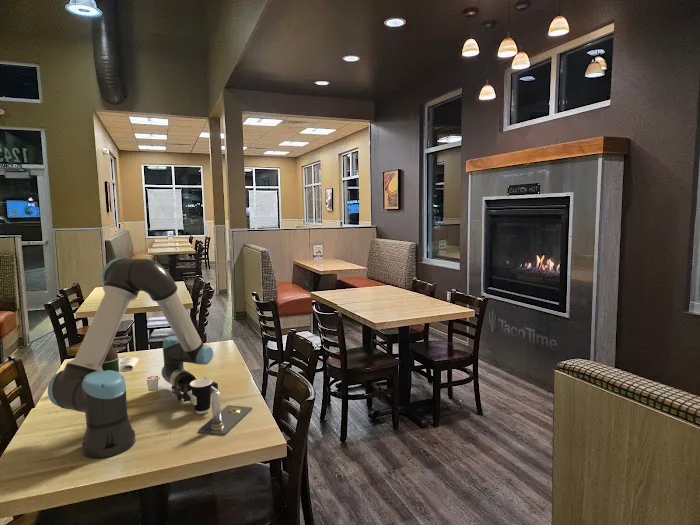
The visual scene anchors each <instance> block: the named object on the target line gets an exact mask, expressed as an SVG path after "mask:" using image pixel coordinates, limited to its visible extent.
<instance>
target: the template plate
mask: <svg viewBox="0 0 700 525" xmlns="http://www.w3.org/2000/svg"><path fill="white" fill-rule="evenodd" d="M251 411H253V407H251V406H241V405H233V404H232V405H230V404H229V405H226V406H225V407H224V408H223V409H221V419H222V421H223V426H222V427H220V428H213V427H212V423H213V417H212V418H210V419H209V420H208V421H207V422H206V423H204V424H203V425H202V426H201V427H200V428H199V429H198V430H197V432H198V433H199V434H201V433H202V434H210V435H216V436H217V435H218V436H219V435H220V436H227V435H228V433H230V431H231V430H233V429H234V428H235V427H236V426H237V425H238V424H239V423H240V422H241V421H242V420H243V419H244V418H245V417H246V416H247V415H248V414H249V413H251Z"/></svg>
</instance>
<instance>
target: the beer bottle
mask: <svg viewBox="0 0 700 525" xmlns="http://www.w3.org/2000/svg"><path fill="white" fill-rule="evenodd" d="M118 356H119V355H118V352H117V350H116V349H115V348H114V347H113V343H112V344H111V346H110V348H109V350H108V353H107V355H106V357H105V360H104V362H103V364H102V369H103V370H104V371H107V370H112V371H116V372H119V362H118ZM119 373H120V372H119Z"/></svg>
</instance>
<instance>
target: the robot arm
mask: <svg viewBox="0 0 700 525" xmlns="http://www.w3.org/2000/svg"><path fill="white" fill-rule="evenodd" d="M101 278H102V283H103V286H102V290H103V291H104V295H103V297H102V299H101V301H100V303H99V306H98V308H97V309H96V312H95V315H94V317H93V318H92V320H91V323H90V325H89V327H88V328H87V331H86V333H85V335H84V337H83V340H82V341H81V344H80V346H79V348H78V350H77V353H76V355H75V356H74V359H72V360H70V361H67V363H66V364H65V367H64V368H63V370H60V371H58V372H57V373H54V375H53V376H52V377H51V379H50V380H49V382H48V385H47V395H48V399H49V400H50V402H51V403H52V404H53V405H55V406H57V407H60V408H62V409H63V410H72V411H76V412H79V413H84V414H85V422H86V429H85V432H84V438H83V441H82V443H81V450H82V455H83V456H85V457H87V458H89V459H102V458H108V457H109V458H110V457H113V456H116V455H119V454H121V453H124V452H126V451H127V450H129V449H131V448H132V447H133V446H134V445H135V444H136V441H137V440H136V433H135V430H134V429H133V427H132V425H131V422H130V420H129V415H128V400H127V384H126V381H125V377H124V375H123V374H122V373H121V372H116V371H112V370H107V371H104V370H103V369H102V364H103V362H104V360H105V357H106V355H107V353H108V350H109V348H110V346H111V344H112V345H113V341H114V339H115V337H116V334H117V332H118V330H119V327H120V325H121V322H122V321H123V318H124V316H125V313H126V311H127V309H128V307H129V305H130V303H131V302H132V301H135V300H137V298H138V295H139V293H140V292H144V293H146V294H147V295H149V297H150V298H151V300H152V301H153V302H155V303H157V305H158V307H159V309H160V310H161V312H162V314H163V316H164V318H165V320H166V321H167V323H168V324H169V327H170V329H171V330H172V332H173V334H174V335H171V336H167V337H165V338H164V339H163V340H162V353H163V366H162V369H161V376H162V378H163V380H165V382H167V383H169V384H170V385H171V393H172V394H174V396H175V397H176V399H177V400H178V401H182V400H183V402H184V403H186V402H190V403H191V404H192V405H193V406H194V405H197V399H196V397H195V396H194V395H193V394H192V391H191V386H190V383H191V382H192V381H194V380H197V379H198V378H196V377H195V375H194V374H192V373H191V372H190V371H188V370H186V369H185V367H184V363H188V364H194V365H198V366H200V365H202V366H206V365H209V363H210V362H211V361H212V360H213V357H214V351H213V347H211V346H209V345H207V344H206V345H204V342H203V341H202V339H201V337H200V335H199V333H198V331H197V330H196V327H195V325H194V323H193V321H192V320H191V317H190V316H189V314H188V312H187V310H186V308H185V306H184V304H183V301H182V300H181V297H180V296H179V295H178V292H177V291H178V289H179V288H178V286H177V284H176V282H175V280H174V278H173V276H172V275H171V274H170V273H169V272H168V271H167V269H166V268H165V267H164V266H162V264H160V263H159V262H157V261H156V260H153V259H150V258H131V257H120V258H114V259H112V260H110V261H108V263H106V264H105V266H104V267H103V269H102V274H101ZM202 379H208V378H207V377H203V378H202ZM218 384H219V383H218V382H216V381H213V380H212V384H211V392H213V391H220V390H219V387H218V386H219V385H218Z"/></svg>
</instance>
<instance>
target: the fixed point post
mask: <svg viewBox="0 0 700 525" xmlns="http://www.w3.org/2000/svg"><path fill="white" fill-rule="evenodd" d="M221 404H222V402H221V390H219V391H213V392H211V409H212V410H211V411H212V418H213V423H212V427H213V428H220V427H222V426H223V421H222V419H221V410H222V405H221Z"/></svg>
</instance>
